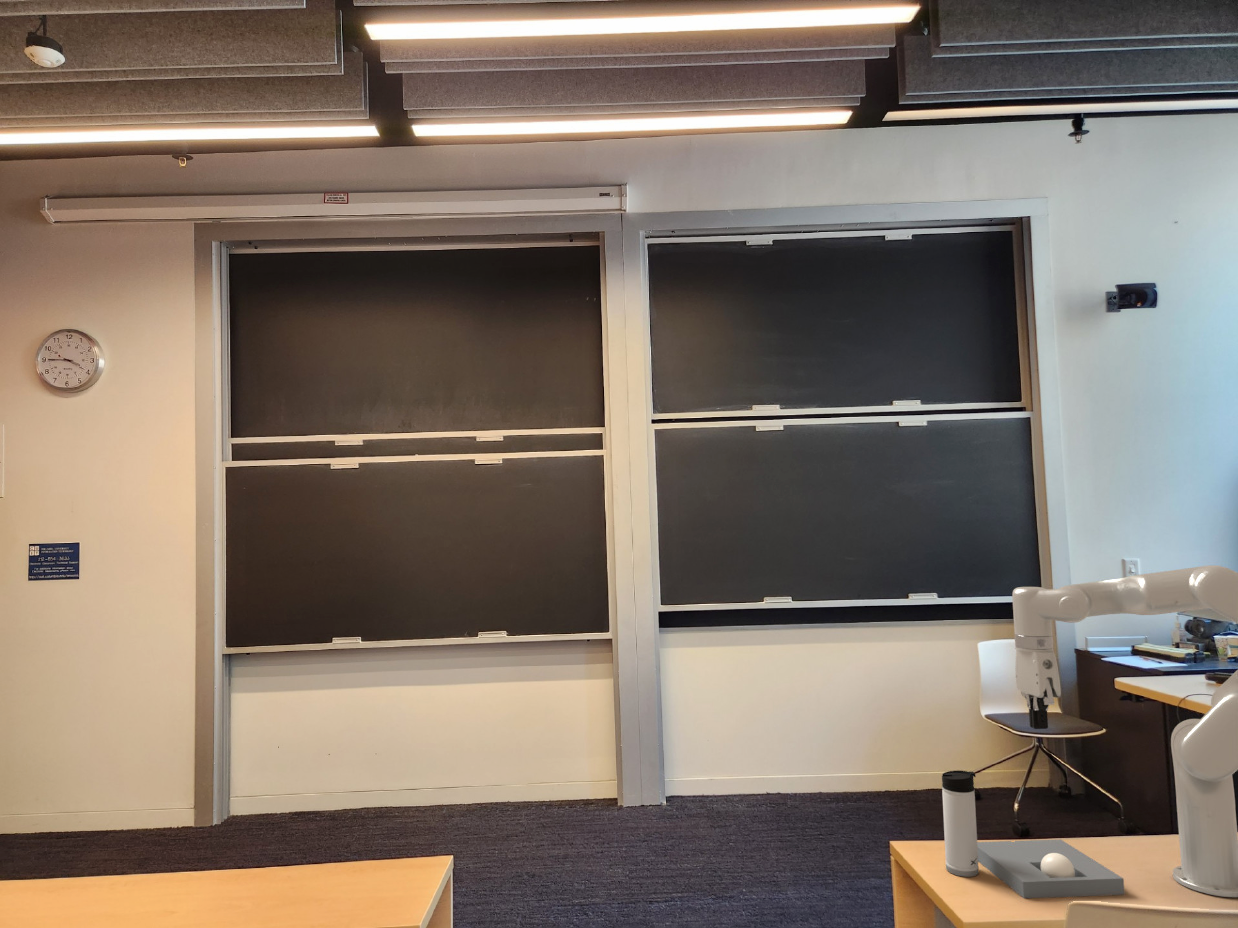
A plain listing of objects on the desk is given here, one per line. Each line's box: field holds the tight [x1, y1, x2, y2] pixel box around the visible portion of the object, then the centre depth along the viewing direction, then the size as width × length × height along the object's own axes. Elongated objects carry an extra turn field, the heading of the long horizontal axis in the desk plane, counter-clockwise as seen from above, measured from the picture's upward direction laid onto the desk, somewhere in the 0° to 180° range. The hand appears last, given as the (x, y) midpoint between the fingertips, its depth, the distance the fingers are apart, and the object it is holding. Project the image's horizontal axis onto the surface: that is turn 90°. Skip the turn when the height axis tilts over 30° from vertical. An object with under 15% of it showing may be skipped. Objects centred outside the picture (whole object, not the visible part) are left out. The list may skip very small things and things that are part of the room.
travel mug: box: [941, 769, 980, 878], centre depth 166 cm, size 6×7×20 cm
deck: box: [977, 838, 1125, 899], centre depth 163 cm, size 20×20×3 cm
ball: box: [1041, 853, 1075, 878], centre depth 158 cm, size 6×6×6 cm
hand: (1038, 727), depth 174 cm, fingers closed
